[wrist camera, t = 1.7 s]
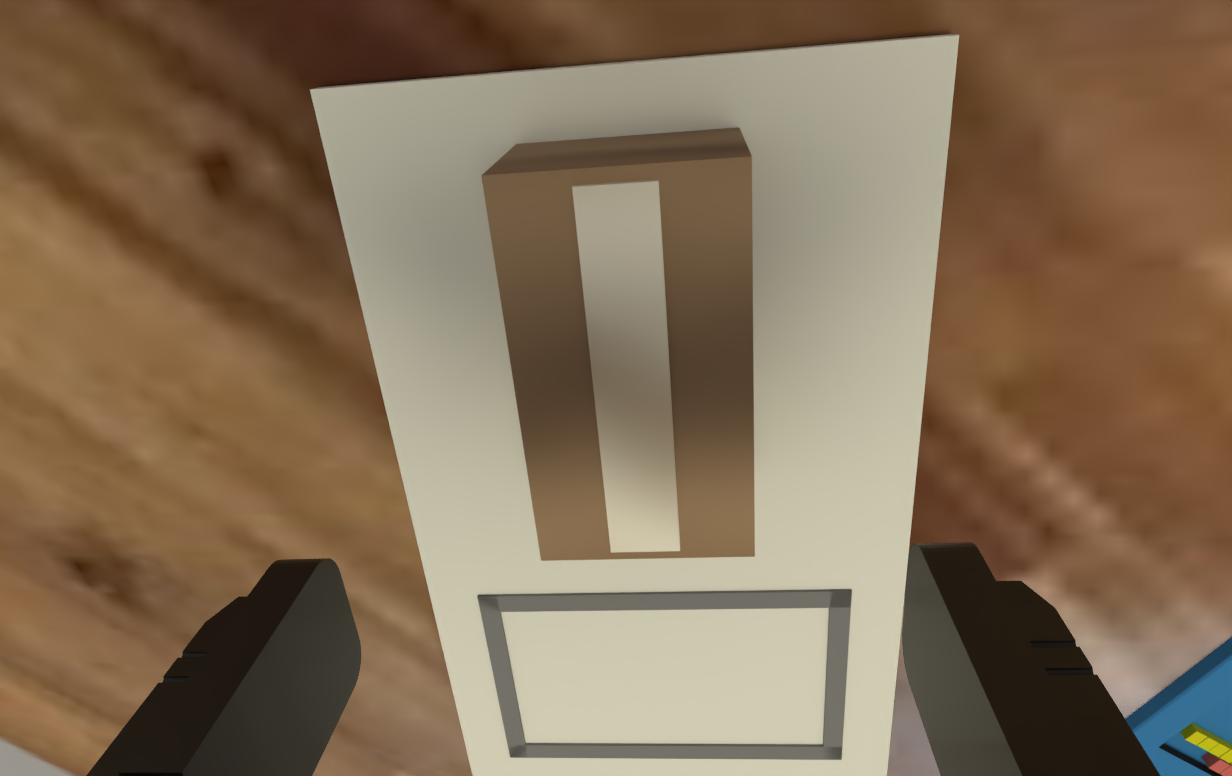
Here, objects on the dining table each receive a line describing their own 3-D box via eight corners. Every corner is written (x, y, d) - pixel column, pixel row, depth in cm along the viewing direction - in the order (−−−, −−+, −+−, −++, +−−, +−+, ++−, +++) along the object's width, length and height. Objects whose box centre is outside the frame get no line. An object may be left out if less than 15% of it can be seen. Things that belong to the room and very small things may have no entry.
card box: (516, 144, 18) (479, 177, 15) (739, 127, 17) (752, 157, 14) (560, 479, 22) (539, 564, 19) (744, 474, 21) (755, 560, 18)
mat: (318, 86, 18) (307, 90, 18) (951, 34, 17) (960, 35, 16) (482, 790, 29) (478, 805, 28) (879, 795, 27) (883, 811, 27)
